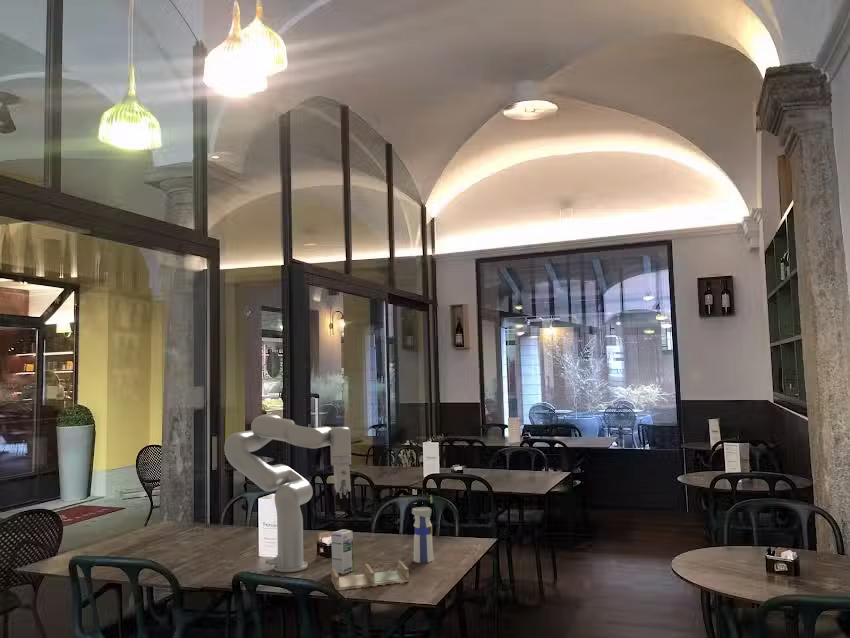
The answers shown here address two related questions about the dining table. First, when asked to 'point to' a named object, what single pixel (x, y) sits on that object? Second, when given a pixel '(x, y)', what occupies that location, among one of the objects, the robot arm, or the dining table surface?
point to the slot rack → (370, 578)
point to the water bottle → (423, 534)
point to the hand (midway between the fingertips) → (342, 507)
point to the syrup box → (342, 551)
